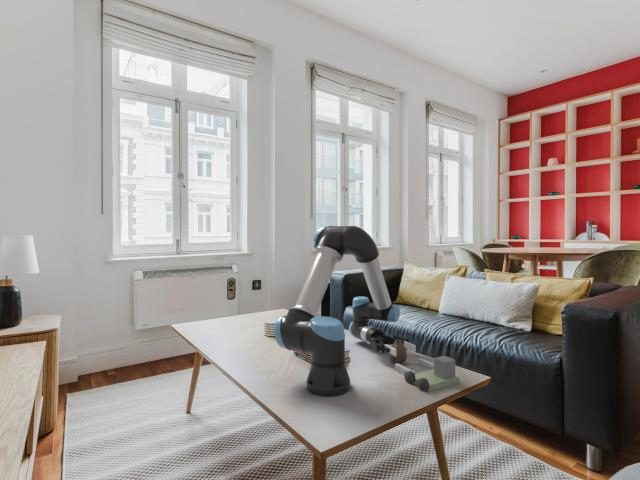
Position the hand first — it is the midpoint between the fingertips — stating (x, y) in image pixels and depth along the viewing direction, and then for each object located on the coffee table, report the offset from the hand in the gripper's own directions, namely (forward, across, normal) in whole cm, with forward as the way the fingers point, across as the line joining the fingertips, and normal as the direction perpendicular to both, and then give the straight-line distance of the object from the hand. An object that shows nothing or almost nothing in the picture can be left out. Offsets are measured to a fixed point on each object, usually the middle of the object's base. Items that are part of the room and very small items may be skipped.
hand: (405, 350), depth 151 cm
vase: (-5, 0, -6) cm, 8 cm away
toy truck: (+17, +2, -6) cm, 18 cm away
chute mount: (+7, 0, -6) cm, 9 cm away
